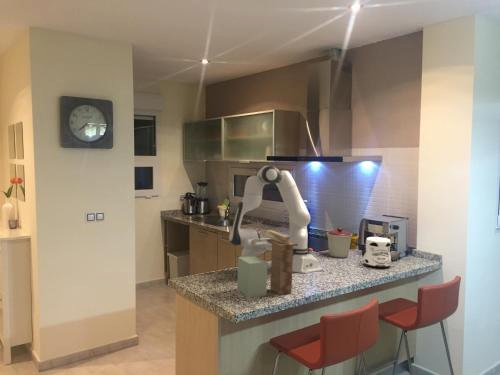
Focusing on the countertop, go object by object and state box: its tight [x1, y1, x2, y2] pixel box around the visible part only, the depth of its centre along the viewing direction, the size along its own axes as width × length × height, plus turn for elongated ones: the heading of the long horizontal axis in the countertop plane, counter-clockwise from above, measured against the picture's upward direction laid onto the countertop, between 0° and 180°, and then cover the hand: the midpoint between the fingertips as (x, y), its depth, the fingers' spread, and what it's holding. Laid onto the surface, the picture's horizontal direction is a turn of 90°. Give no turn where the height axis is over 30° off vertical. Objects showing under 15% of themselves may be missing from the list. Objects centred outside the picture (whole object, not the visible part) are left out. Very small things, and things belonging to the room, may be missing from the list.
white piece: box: [363, 236, 392, 269], centre depth 278 cm, size 17×17×18 cm
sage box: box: [236, 255, 268, 298], centre depth 216 cm, size 10×14×17 cm
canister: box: [326, 226, 352, 259], centre depth 303 cm, size 18×18×21 cm
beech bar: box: [265, 229, 290, 244], centre depth 222 cm, size 3×20×4 cm, turn 25°
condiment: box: [349, 232, 359, 250], centre depth 331 cm, size 7×8×12 cm
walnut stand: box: [267, 240, 297, 296], centre depth 219 cm, size 10×14×26 cm
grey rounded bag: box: [390, 251, 402, 261], centre depth 301 cm, size 15×8×20 cm
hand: (266, 238), depth 234 cm, fingers open, 8 cm apart
